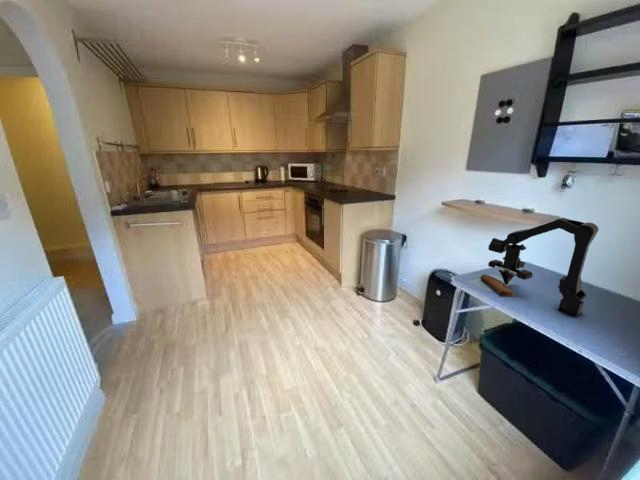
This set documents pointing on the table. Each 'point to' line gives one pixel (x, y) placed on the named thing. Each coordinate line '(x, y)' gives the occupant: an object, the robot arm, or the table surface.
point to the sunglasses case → (497, 286)
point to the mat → (485, 286)
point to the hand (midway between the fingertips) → (506, 284)
